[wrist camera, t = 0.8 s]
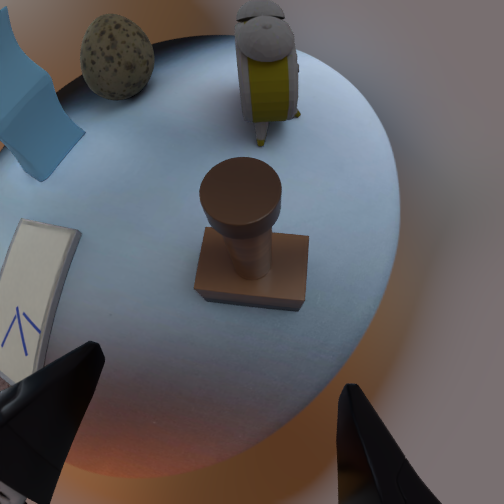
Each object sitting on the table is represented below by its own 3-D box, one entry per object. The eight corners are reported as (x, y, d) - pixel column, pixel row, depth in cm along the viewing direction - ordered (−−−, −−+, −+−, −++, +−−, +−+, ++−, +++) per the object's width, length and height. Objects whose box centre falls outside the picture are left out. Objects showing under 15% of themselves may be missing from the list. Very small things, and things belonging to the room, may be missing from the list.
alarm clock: (243, 92, 35) (231, -6, 21) (293, 89, 35) (296, -8, 21) (247, 154, 31) (232, 32, 17) (308, 150, 30) (323, 30, 16)
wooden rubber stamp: (298, 311, 24) (332, 250, 11) (206, 301, 25) (140, 232, 12) (303, 256, 26) (331, 153, 13) (215, 248, 27) (169, 144, 14)
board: (38, 402, 21) (32, 402, 20) (-14, 359, 23) (-20, 358, 22) (82, 233, 28) (77, 229, 27) (24, 220, 30) (20, 217, 29)
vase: (20, 167, 34) (-62, 69, 11) (57, 123, 37) (-9, 17, 14) (43, 184, 32) (-58, 63, 9) (85, 132, 35) (10, 2, 12)
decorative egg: (174, 88, 36) (149, 3, 23) (110, 125, 35) (67, 44, 21) (148, 66, 40) (125, -3, 26) (94, 98, 38) (59, 32, 24)
